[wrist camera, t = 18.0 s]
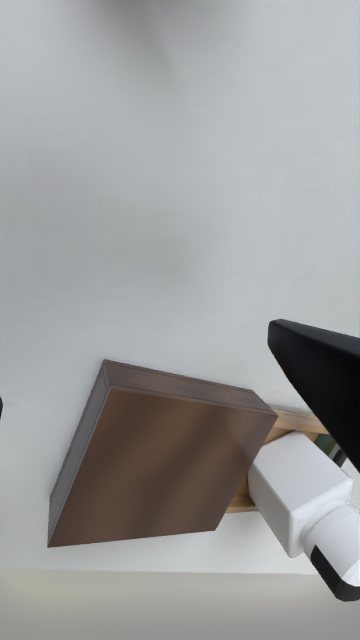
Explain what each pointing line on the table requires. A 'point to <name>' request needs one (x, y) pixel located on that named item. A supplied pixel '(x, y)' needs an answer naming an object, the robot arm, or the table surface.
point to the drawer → (282, 427)
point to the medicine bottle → (309, 509)
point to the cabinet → (155, 456)
